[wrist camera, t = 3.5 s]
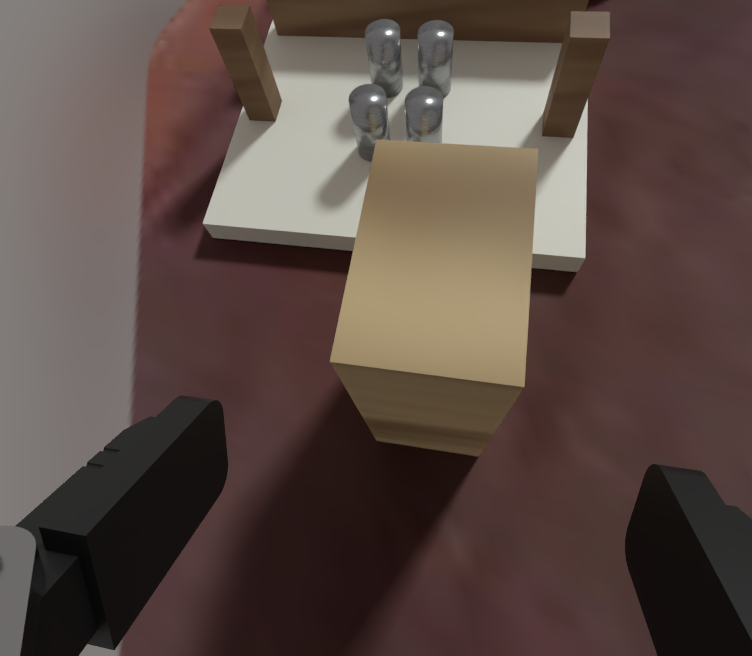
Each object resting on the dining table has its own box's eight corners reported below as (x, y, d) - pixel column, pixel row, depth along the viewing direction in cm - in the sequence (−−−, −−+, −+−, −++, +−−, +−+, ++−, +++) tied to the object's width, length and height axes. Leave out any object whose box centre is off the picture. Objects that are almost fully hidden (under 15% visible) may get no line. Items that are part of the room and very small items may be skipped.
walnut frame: (573, 137, 23) (609, 38, 18) (249, 120, 25) (209, 28, 21) (576, 26, 25) (608, -85, 21) (282, 20, 28) (253, -81, 23)
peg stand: (577, 272, 22) (585, 258, 20) (212, 237, 24) (202, 223, 23) (582, 42, 27) (588, 21, 25) (280, 34, 29) (274, 15, 28)
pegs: (439, 166, 23) (440, 116, 20) (355, 160, 24) (345, 111, 21) (452, 77, 25) (455, 20, 22) (374, 74, 26) (368, 18, 23)
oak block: (478, 456, 19) (523, 386, 10) (376, 441, 20) (329, 361, 10) (491, 314, 21) (538, 148, 12) (398, 304, 22) (376, 139, 13)
